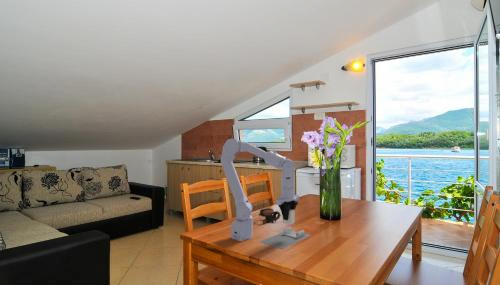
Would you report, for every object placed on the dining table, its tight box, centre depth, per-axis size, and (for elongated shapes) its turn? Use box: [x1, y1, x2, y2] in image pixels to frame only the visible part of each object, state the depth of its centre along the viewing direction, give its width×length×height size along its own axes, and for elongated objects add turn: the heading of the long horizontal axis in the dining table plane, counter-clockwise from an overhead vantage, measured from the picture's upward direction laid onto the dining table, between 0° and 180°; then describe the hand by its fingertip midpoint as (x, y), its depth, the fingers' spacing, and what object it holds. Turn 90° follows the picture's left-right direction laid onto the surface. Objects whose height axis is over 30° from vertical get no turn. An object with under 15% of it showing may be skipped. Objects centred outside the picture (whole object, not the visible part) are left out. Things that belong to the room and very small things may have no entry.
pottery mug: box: [258, 207, 281, 225], centre depth 156 cm, size 12×10×8 cm
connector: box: [282, 207, 296, 225], centre depth 128 cm, size 3×4×6 cm
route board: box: [259, 230, 312, 250], centre depth 127 cm, size 22×12×1 cm, turn 138°
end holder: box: [283, 226, 306, 239], centre depth 132 cm, size 6×8×2 cm
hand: (287, 218), depth 128 cm, fingers closed on connector, 3 cm apart
